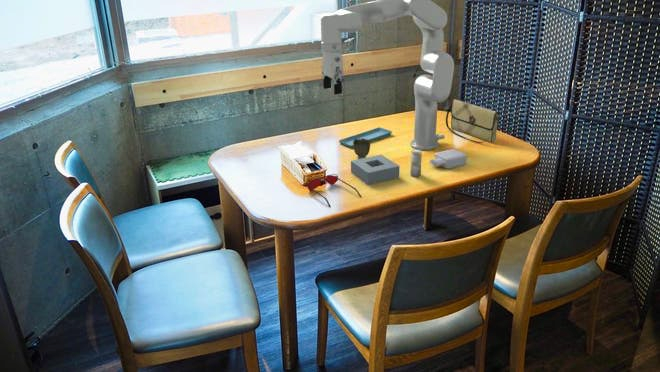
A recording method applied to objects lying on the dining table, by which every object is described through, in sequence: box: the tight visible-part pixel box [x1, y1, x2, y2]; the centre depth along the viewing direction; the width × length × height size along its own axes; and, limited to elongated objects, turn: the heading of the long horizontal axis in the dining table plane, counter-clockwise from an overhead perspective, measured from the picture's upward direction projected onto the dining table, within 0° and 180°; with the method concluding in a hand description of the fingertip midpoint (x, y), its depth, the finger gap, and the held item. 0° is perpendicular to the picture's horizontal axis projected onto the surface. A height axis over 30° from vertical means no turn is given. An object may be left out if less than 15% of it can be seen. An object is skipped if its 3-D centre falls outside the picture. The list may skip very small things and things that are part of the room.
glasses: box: [306, 173, 363, 208], centre depth 202 cm, size 14×16×5 cm
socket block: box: [350, 154, 401, 186], centre depth 217 cm, size 14×14×5 cm
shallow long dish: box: [338, 126, 393, 149], centre depth 255 cm, size 26×9×2 cm, turn 129°
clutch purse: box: [445, 98, 500, 144], centre depth 252 cm, size 30×7×15 cm, turn 33°
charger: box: [428, 148, 468, 170], centre depth 224 cm, size 5×9×15 cm
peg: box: [410, 149, 423, 178], centre depth 215 cm, size 4×4×10 cm
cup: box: [353, 138, 372, 159], centre depth 233 cm, size 8×7×8 cm
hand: (332, 91), depth 216 cm, fingers open, 9 cm apart
